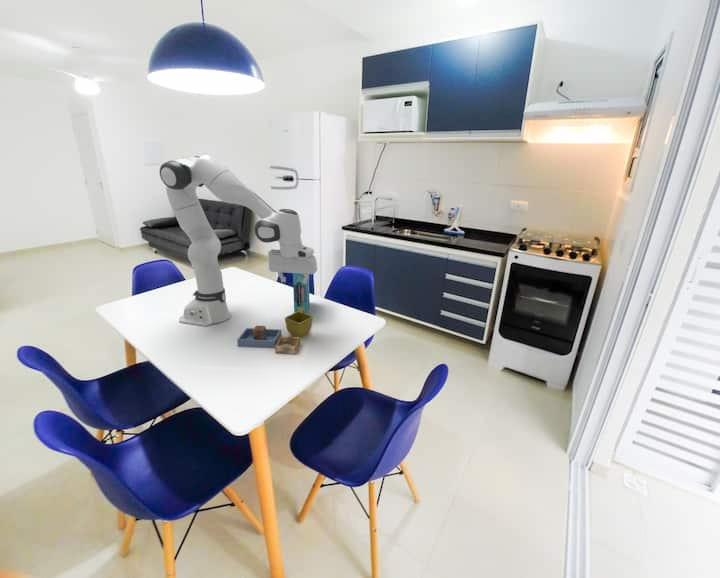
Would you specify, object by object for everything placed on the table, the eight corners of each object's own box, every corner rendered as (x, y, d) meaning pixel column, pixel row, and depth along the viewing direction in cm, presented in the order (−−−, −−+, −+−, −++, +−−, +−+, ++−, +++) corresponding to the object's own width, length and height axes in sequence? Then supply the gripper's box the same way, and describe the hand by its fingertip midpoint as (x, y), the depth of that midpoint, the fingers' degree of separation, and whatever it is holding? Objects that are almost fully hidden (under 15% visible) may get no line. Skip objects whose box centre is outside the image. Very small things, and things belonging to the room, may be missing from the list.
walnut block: (254, 343, 136) (252, 330, 134) (257, 338, 140) (256, 325, 138) (263, 343, 136) (262, 330, 134) (266, 338, 140) (265, 326, 138)
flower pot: (313, 334, 146) (313, 315, 142) (300, 342, 139) (299, 323, 135) (298, 329, 150) (298, 311, 147) (285, 336, 143) (284, 317, 140)
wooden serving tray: (275, 354, 129) (275, 346, 128) (281, 343, 137) (280, 336, 136) (296, 355, 129) (296, 347, 128) (300, 344, 137) (300, 337, 136)
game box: (297, 303, 178) (295, 254, 169) (309, 303, 179) (308, 254, 169) (294, 319, 159) (291, 265, 149) (307, 319, 159) (305, 265, 150)
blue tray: (237, 347, 133) (237, 339, 132) (247, 335, 143) (246, 328, 142) (275, 348, 133) (274, 341, 132) (281, 336, 143) (281, 329, 141)
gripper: (264, 251, 132) (267, 283, 137) (312, 253, 128) (314, 286, 133) (271, 247, 138) (274, 278, 143) (317, 249, 134) (319, 281, 139)
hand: (294, 282), depth 138 cm, fingers open, 8 cm apart
